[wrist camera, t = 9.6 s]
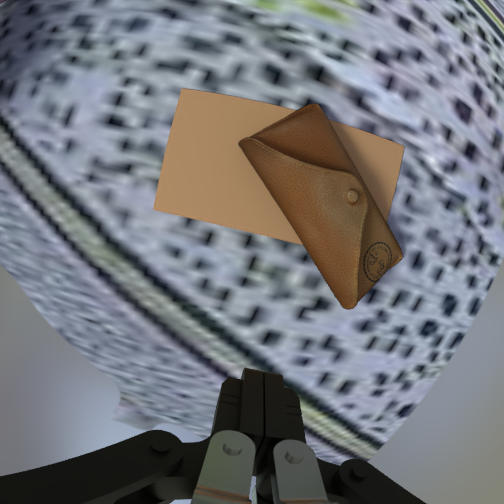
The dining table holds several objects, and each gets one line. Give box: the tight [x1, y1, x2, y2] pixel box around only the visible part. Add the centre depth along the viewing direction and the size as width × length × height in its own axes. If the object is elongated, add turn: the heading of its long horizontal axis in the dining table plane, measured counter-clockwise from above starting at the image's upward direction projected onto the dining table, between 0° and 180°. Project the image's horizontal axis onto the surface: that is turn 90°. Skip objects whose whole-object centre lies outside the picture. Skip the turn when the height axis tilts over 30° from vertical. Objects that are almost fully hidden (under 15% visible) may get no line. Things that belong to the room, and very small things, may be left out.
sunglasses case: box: [238, 103, 403, 309], centre depth 26 cm, size 18×7×7 cm
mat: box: [153, 88, 404, 245], centre depth 27 cm, size 12×22×1 cm, turn 77°
